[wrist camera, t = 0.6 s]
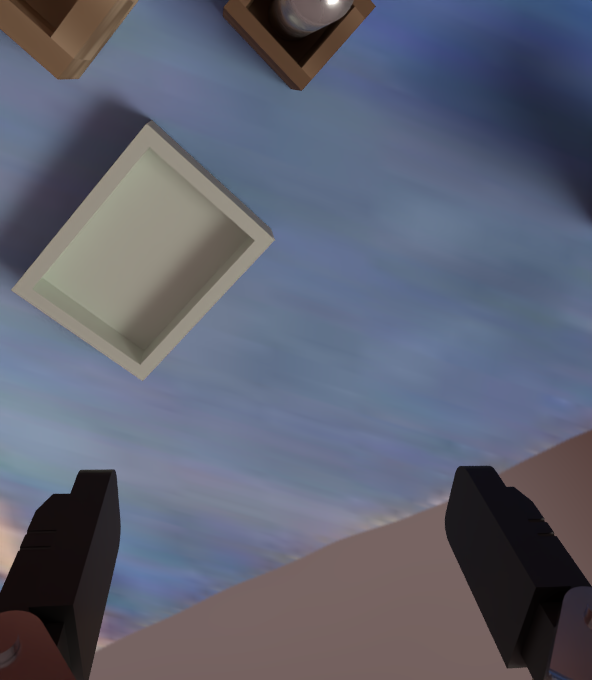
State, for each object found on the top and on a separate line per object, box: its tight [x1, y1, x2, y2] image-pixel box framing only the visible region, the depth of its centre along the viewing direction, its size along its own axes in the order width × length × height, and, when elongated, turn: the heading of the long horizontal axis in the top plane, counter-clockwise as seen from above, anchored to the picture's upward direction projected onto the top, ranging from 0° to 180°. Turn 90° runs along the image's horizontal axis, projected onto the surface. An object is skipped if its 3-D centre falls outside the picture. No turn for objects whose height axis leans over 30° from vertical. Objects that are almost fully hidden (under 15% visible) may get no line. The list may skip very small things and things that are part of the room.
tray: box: [12, 120, 275, 381], centre depth 33 cm, size 12×9×3 cm
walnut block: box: [223, 0, 376, 91], centre depth 28 cm, size 5×5×4 cm
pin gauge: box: [268, 0, 354, 41], centre depth 25 cm, size 2×2×10 cm
